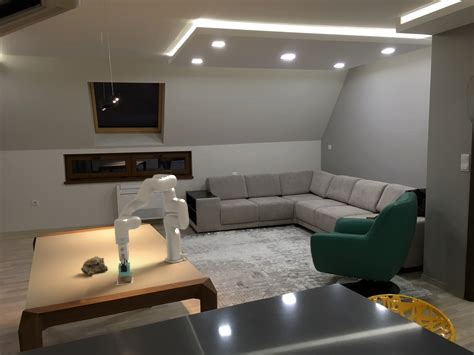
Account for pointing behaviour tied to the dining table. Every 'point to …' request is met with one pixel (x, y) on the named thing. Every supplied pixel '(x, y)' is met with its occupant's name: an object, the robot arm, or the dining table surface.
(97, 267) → the mineral specimen
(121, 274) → the teal block
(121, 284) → the grey square mat
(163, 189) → the robot arm
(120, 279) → the walnut block
